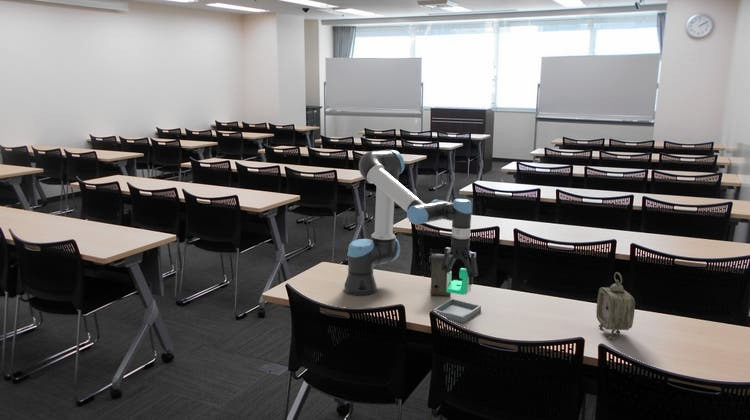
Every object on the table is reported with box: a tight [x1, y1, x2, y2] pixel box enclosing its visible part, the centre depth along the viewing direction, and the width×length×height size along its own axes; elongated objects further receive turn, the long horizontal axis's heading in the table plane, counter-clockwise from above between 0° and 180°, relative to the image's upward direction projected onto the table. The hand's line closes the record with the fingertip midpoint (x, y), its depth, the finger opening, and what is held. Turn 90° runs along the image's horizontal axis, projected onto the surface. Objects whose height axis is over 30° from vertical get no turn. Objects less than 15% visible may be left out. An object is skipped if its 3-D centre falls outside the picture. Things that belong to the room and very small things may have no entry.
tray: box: [432, 298, 482, 324], centre depth 238 cm, size 14×16×2 cm
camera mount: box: [446, 267, 468, 296], centre depth 235 cm, size 12×8×10 cm, turn 157°
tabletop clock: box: [595, 271, 636, 340], centre depth 217 cm, size 14×9×25 cm, turn 178°
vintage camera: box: [430, 252, 453, 297], centre depth 262 cm, size 10×15×20 cm, turn 174°
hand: (458, 289), depth 235 cm, fingers closed on camera mount, 8 cm apart
